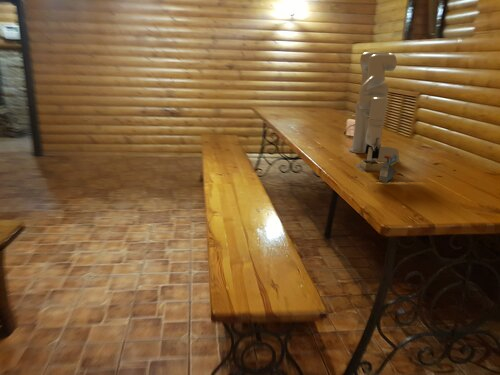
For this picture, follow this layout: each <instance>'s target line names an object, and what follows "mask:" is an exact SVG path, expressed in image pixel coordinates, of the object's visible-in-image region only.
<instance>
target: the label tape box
mask: <svg viewBox="0 0 500 375" xmlns="http://www.w3.org/2000/svg"><path fill="white" fill-rule="evenodd" d="M393 159H394V160H393ZM396 159H397V155H396V156H394V157H392V158H390V162H387V163H385V164H383V165H382V166H381V171H380V172H379V177H378V182H379V183H382V184H388V183H389V182H390V180H392V179H394V175H395V172H394V170H395V169H396V164H397V162H396ZM392 160H393V161H392ZM395 171H396V170H395Z"/></svg>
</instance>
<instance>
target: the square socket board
mask: <svg viewBox="0 0 500 375" xmlns="http://www.w3.org/2000/svg"><path fill="white" fill-rule="evenodd" d="M392 157H393V156H389V155H385V156H384V158H387V162H389V159H390V158H392ZM366 162H367V159H360V161H359V164H360V167H361V168H362V169H363V170H365V171H380V170H381V166H382V165H383V164H385V163H387V162H377V161H376V162H375V164H367V163H366Z"/></svg>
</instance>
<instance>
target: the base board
mask: <svg viewBox="0 0 500 375" xmlns="http://www.w3.org/2000/svg"><path fill="white" fill-rule="evenodd" d="M353 165H354V166H355V167H356V168H357V169H358V170H359V171H361V172H362V173H380V171H381V170H380V171H365V170H363V169H362V168H361V167H360V163H359V164H358V163H357V164H356V163H355V164H353ZM394 173H397V170H394Z"/></svg>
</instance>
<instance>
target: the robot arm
mask: <svg viewBox="0 0 500 375" xmlns="http://www.w3.org/2000/svg"><path fill="white" fill-rule="evenodd" d="M359 59H360V60H359V62H360V68H361V81H360V88H359V91H358V101H357V102H356V103H355V110H354V111H355V119H354V121H355V122H354V129H353V139H352V147H349V148H348V151H349V152H352V153H355V154H356V153H357V154H367V155H368V149H369V147H373V150H374V151H373V152H372V159H378V156H379V151H380V147H382V138H383V137H382V136H383V128H384V125H385V118H386V112H387V108H388V105H389V99H388V96H389V85H388V83H386V82H385V80H386V79H385V78H386V77H385V76H386V74H385V72H393V71H394V70H396V69H397V68H396V67H397V64H398V62H397V61H398V60H397V57H396V55H395V54H394V53H392V52H384V51H383V52H377V51H366V52H363V53H362V54H361V55H360V58H359ZM375 147H376V148H375Z"/></svg>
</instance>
